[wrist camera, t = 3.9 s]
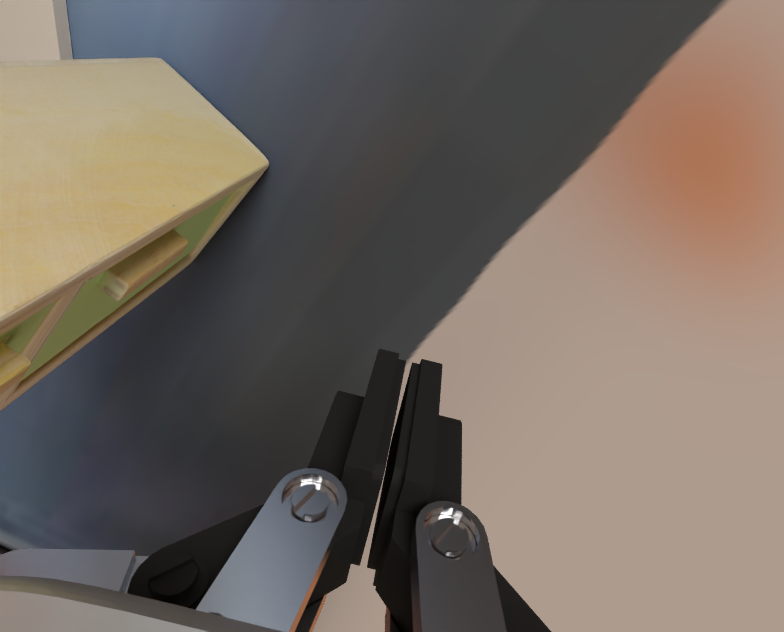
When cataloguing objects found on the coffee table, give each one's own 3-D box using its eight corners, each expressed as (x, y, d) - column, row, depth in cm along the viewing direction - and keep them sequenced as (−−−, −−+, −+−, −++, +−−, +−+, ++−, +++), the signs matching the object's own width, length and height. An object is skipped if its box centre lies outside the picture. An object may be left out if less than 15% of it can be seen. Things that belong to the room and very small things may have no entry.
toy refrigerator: (202, 275, 27) (-372, 751, 8) (89, 180, 25) (-967, 523, 7) (287, 174, 23) (-370, 606, 5) (162, 55, 21) (-1607, 43, 3)
